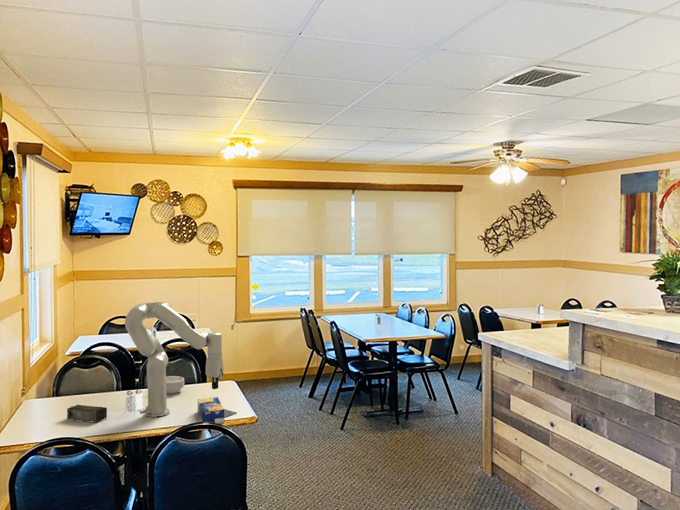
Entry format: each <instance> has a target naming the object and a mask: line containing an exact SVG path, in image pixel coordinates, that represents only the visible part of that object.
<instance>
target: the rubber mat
mask: <svg viewBox="0 0 680 510" xmlns="http://www.w3.org/2000/svg"><path fill="white" fill-rule="evenodd" d="M236 413H237V412H235V411H233V410H230V409H225V408H224V419H225V418H228V417H231V416H234V415H237V414H236ZM233 414H234V415H233Z"/></svg>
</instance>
